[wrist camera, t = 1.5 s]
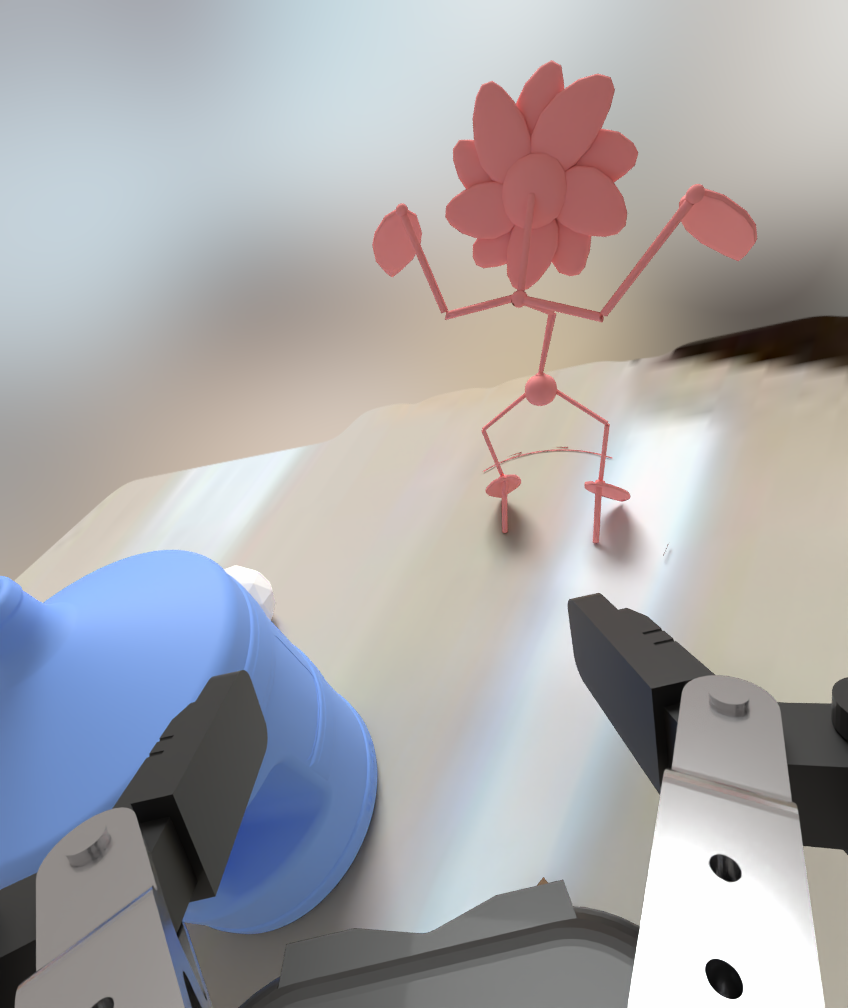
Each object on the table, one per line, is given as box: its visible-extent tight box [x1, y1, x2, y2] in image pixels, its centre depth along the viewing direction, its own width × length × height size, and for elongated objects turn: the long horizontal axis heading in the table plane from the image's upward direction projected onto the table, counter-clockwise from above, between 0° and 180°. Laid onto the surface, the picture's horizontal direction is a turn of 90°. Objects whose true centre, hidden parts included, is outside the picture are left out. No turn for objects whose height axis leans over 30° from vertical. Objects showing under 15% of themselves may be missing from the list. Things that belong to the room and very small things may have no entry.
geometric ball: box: [224, 565, 276, 620], centre depth 46 cm, size 8×8×8 cm
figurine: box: [372, 60, 757, 556], centre depth 39 cm, size 15×26×35 cm, turn 68°
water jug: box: [0, 550, 377, 934], centre depth 26 cm, size 16×16×28 cm
